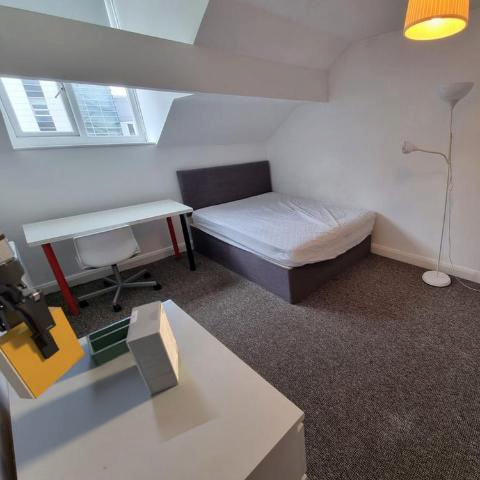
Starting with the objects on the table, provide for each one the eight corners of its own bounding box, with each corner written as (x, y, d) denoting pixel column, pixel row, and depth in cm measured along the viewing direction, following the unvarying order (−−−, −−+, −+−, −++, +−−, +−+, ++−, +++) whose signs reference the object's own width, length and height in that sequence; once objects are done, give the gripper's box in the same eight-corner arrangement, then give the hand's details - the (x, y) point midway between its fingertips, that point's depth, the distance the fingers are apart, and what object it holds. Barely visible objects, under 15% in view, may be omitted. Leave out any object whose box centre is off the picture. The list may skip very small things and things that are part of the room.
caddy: (91, 346, 92) (85, 335, 90) (144, 322, 102) (140, 312, 100) (96, 367, 84) (91, 356, 82) (154, 338, 94) (150, 328, 92)
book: (20, 399, 58) (-18, 347, 52) (73, 353, 69) (47, 306, 63) (34, 400, 57) (-2, 348, 51) (85, 354, 69) (60, 307, 62)
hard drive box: (152, 357, 87) (132, 307, 78) (178, 348, 90) (161, 299, 82) (149, 396, 74) (125, 342, 66) (179, 384, 77) (160, 331, 69)
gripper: (47, 255, 54) (91, 342, 63) (-25, 253, 55) (29, 339, 65) (4, 274, 47) (61, 369, 57) (-77, 272, 48) (-9, 365, 58)
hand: (43, 353), depth 61 cm, fingers closed on book, 3 cm apart
